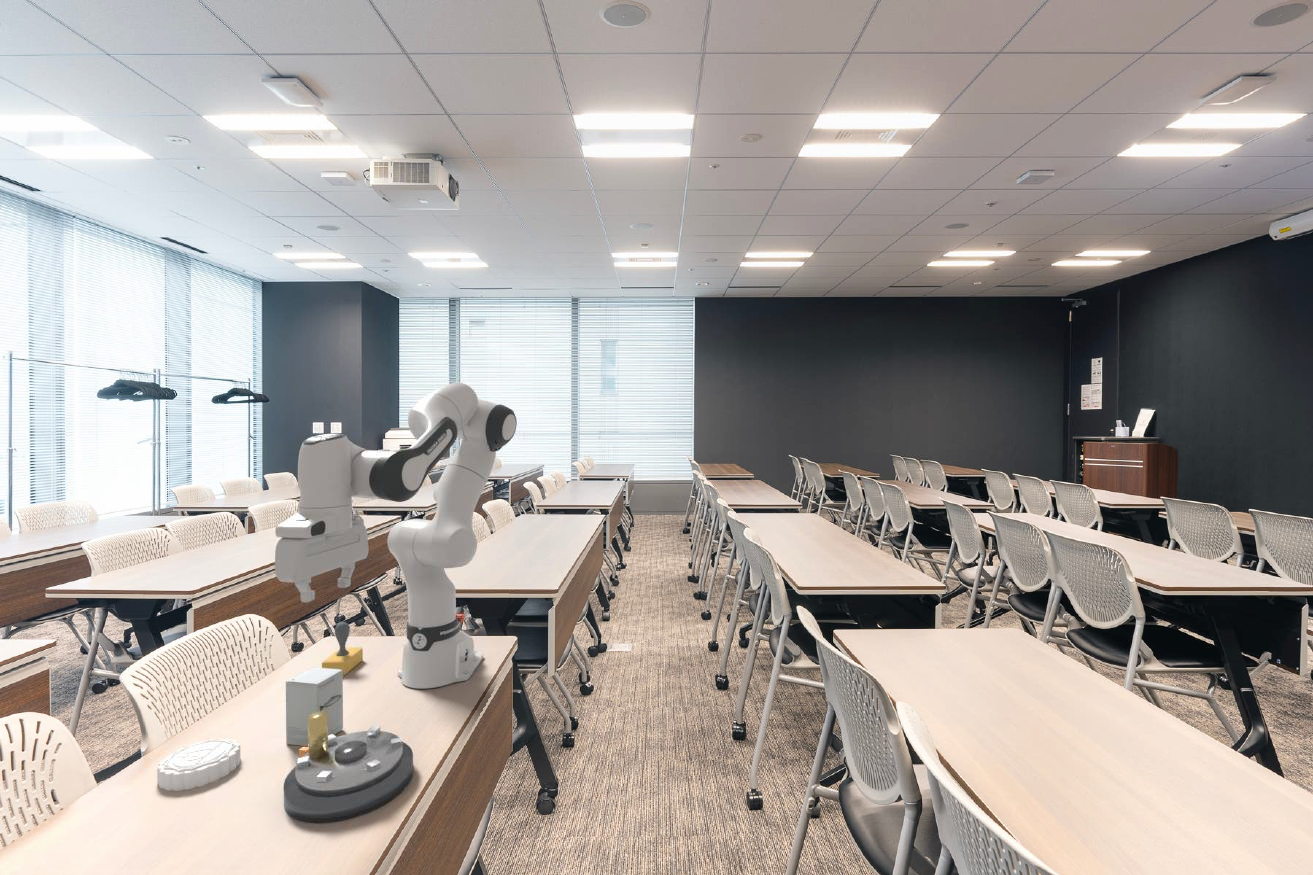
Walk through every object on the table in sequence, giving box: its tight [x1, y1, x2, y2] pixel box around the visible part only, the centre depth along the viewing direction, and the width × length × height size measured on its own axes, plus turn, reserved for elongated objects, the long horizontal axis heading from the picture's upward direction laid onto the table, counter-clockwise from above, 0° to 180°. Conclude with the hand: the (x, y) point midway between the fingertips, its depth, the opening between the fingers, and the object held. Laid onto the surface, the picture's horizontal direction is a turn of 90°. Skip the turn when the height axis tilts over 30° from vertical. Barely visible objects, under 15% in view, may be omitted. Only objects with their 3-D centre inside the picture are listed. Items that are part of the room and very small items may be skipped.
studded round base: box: [295, 711, 403, 796], centre depth 104 cm, size 17×17×9 cm
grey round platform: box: [283, 741, 414, 824], centre depth 104 cm, size 20×20×6 cm
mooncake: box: [156, 737, 241, 792], centre depth 108 cm, size 12×12×4 cm
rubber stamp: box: [321, 621, 364, 677], centre depth 153 cm, size 10×6×12 cm, turn 1°
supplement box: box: [285, 666, 344, 747], centre depth 120 cm, size 7×7×13 cm
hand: (326, 593), depth 112 cm, fingers open, 8 cm apart
